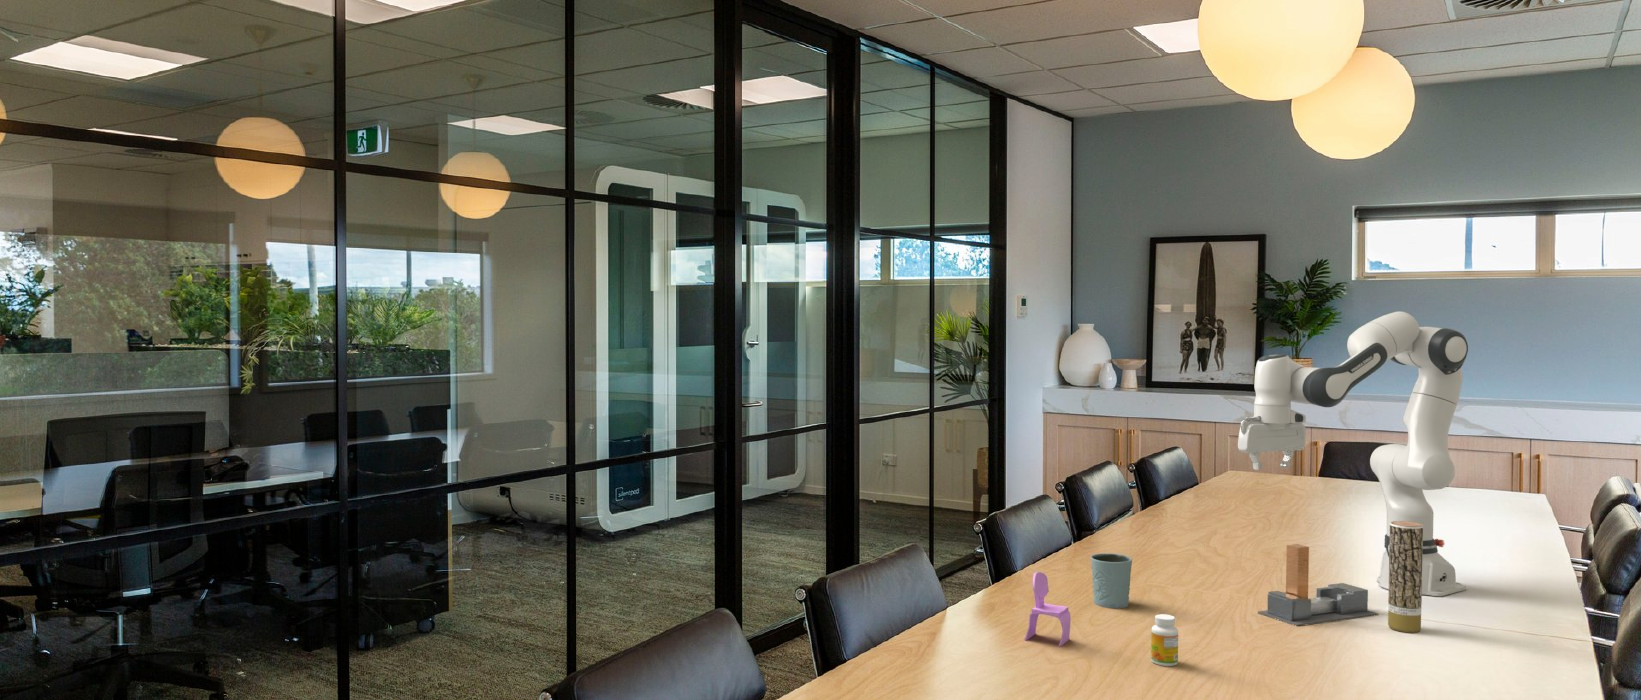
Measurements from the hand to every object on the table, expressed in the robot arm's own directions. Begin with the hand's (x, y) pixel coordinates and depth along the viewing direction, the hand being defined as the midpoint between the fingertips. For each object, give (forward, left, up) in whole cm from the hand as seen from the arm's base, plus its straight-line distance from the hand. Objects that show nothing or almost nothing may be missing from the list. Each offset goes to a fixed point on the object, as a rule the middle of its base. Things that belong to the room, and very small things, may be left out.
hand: (1271, 468), depth 269 cm
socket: (+10, +16, -34) cm, 39 cm away
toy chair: (+76, +10, -34) cm, 84 cm away
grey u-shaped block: (-7, +16, -34) cm, 38 cm away
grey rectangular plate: (+1, +16, -34) cm, 38 cm away
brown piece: (+4, +16, -33) cm, 37 cm away
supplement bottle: (+62, +32, -34) cm, 78 cm away
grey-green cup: (+43, -10, -34) cm, 56 cm away
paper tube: (-8, +33, -34) cm, 48 cm away
